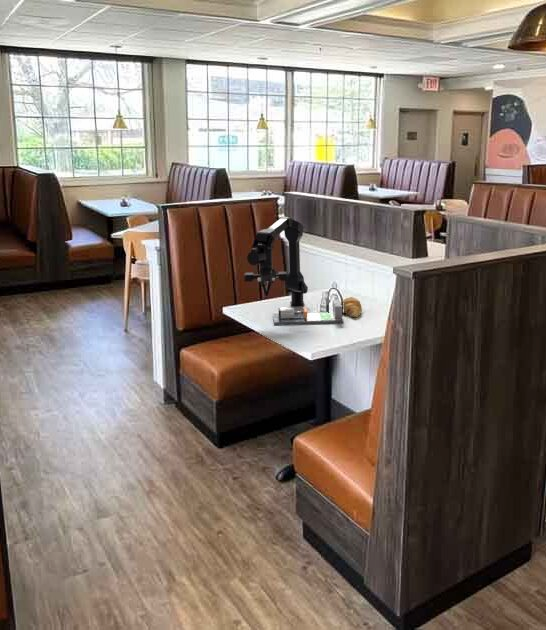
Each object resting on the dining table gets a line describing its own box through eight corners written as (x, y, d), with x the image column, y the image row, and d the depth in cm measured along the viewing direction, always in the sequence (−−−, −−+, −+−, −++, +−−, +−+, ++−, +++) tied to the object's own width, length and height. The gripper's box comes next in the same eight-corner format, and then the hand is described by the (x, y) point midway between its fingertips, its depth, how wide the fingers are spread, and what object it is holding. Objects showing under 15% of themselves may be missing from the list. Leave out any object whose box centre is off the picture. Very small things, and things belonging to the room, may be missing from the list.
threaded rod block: (278, 315, 279) (278, 307, 278) (302, 314, 279) (302, 306, 278) (278, 318, 274) (278, 310, 273) (303, 317, 275) (303, 309, 274)
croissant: (361, 326, 279) (370, 310, 277) (342, 317, 276) (350, 301, 274) (350, 311, 299) (359, 296, 297) (332, 302, 296) (340, 288, 294)
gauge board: (273, 316, 283) (273, 300, 281) (339, 314, 284) (339, 299, 282) (274, 325, 271) (273, 309, 269) (343, 323, 271) (343, 307, 269)
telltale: (303, 313, 280) (303, 307, 279) (306, 313, 280) (306, 307, 279) (304, 318, 273) (304, 311, 272) (307, 318, 273) (307, 311, 273)
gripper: (243, 265, 261) (244, 301, 266) (288, 264, 261) (288, 300, 266) (244, 259, 272) (245, 294, 276) (287, 258, 272) (287, 293, 277)
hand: (266, 295), depth 274 cm, fingers closed
